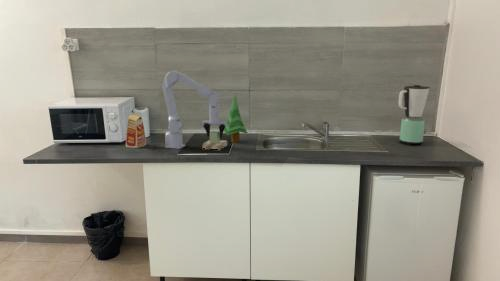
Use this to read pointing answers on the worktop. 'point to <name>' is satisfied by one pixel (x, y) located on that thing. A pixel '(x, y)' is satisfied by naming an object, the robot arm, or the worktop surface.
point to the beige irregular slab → (215, 145)
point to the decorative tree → (234, 123)
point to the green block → (214, 137)
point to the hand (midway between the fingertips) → (214, 136)
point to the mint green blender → (413, 114)
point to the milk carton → (135, 132)
